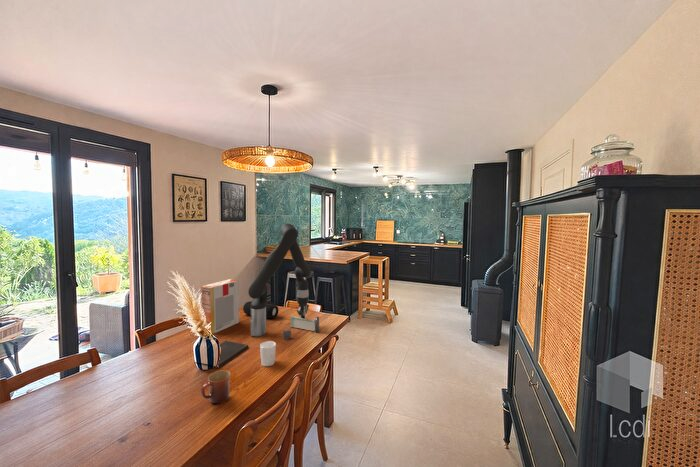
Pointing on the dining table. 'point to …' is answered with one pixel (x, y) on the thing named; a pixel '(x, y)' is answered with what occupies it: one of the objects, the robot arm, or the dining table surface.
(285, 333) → the latch block
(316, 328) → the hinge post
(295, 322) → the gate
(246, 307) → the portable speaker
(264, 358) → the white cup
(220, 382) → the mug
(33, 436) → the dining table surface
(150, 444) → the dining table surface
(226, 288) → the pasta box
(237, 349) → the hardcover book
